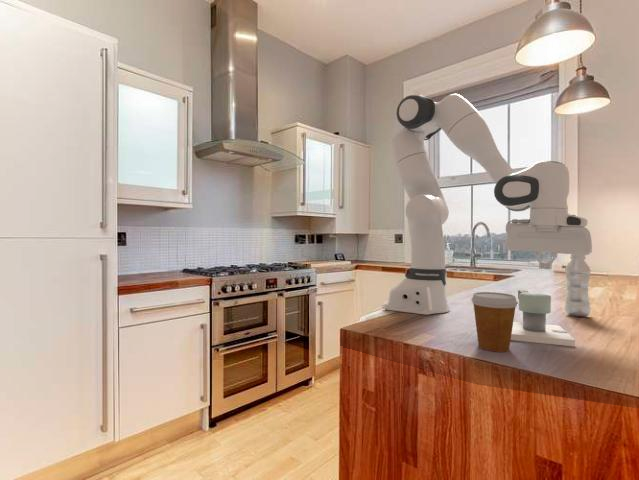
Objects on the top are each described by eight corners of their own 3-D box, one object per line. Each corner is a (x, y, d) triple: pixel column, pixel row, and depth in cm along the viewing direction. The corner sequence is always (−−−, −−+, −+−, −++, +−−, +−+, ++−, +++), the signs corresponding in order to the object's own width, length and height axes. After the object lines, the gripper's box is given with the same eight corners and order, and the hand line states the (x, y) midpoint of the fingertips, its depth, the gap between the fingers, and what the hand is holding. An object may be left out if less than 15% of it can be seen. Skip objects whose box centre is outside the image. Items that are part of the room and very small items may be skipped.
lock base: (506, 339, 86) (506, 315, 86) (500, 325, 99) (500, 304, 99) (575, 346, 81) (575, 320, 81) (559, 331, 94) (559, 308, 94)
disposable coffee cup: (477, 338, 87) (477, 290, 86) (521, 346, 81) (521, 294, 80) (465, 348, 79) (465, 295, 79) (512, 357, 73) (513, 300, 73)
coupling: (554, 314, 85) (554, 298, 85) (522, 312, 87) (522, 296, 87) (535, 301, 102) (535, 288, 101) (508, 300, 104) (508, 286, 104)
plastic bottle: (595, 318, 107) (596, 253, 107) (570, 317, 109) (571, 253, 108) (583, 314, 114) (584, 252, 113) (560, 313, 115) (561, 252, 115)
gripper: (504, 218, 101) (501, 266, 102) (594, 219, 89) (590, 273, 90) (508, 219, 106) (505, 264, 107) (593, 220, 94) (590, 271, 95)
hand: (545, 268), depth 98 cm, fingers closed
